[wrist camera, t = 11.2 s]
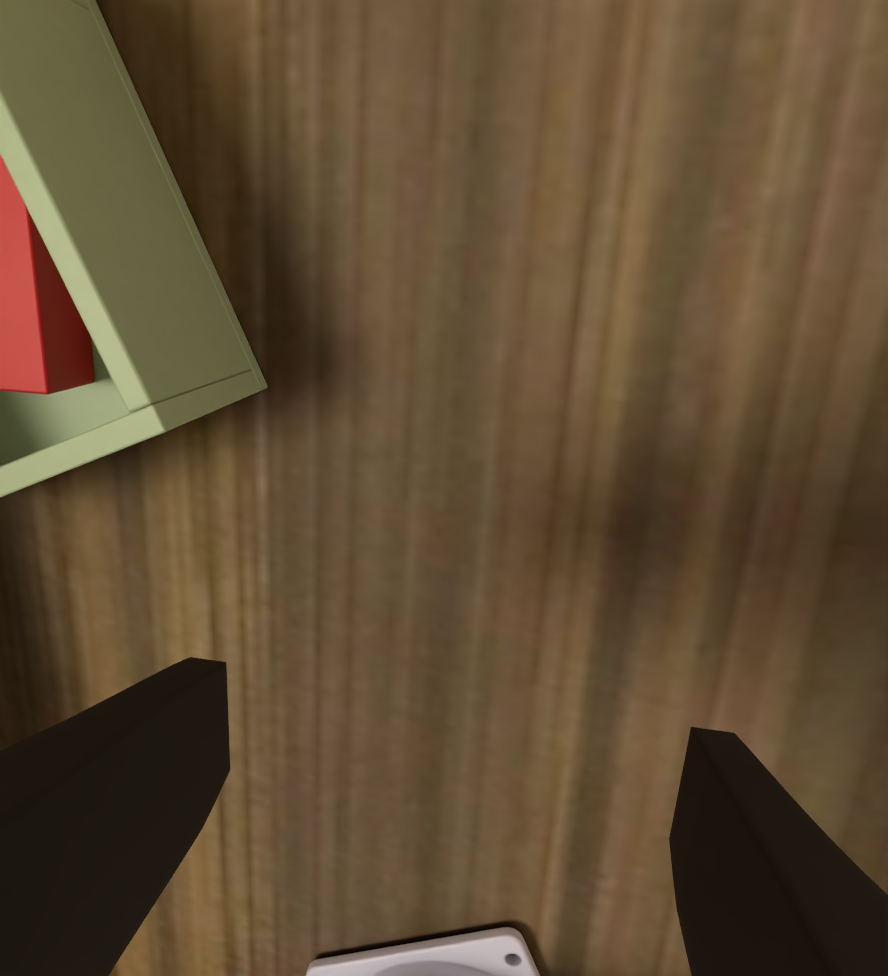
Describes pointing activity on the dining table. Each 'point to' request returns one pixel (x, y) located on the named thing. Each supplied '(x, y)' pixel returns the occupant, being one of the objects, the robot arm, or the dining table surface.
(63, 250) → the green open box
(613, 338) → the dining table surface
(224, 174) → the dining table surface
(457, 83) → the dining table surface
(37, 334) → the red rectangular block
